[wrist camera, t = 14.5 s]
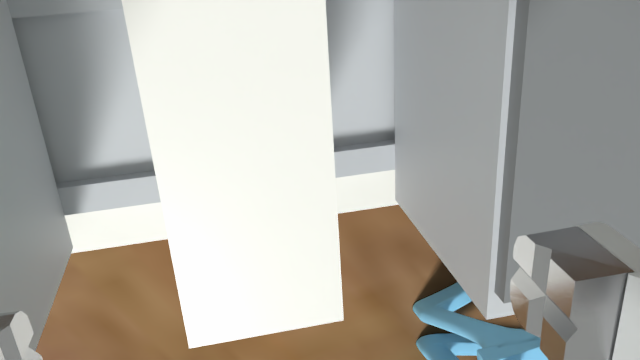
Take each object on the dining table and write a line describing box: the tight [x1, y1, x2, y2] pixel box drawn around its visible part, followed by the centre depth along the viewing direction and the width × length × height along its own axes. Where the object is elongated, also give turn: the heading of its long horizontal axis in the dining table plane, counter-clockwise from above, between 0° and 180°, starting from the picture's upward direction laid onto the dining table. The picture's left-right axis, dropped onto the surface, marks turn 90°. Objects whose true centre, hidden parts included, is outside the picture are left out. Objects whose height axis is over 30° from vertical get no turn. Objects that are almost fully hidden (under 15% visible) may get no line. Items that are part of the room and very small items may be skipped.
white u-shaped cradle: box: [0, 0, 640, 351], centre depth 20 cm, size 28×14×12 cm, turn 94°
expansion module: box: [121, 0, 344, 348], centre depth 19 cm, size 5×10×9 cm, turn 4°
